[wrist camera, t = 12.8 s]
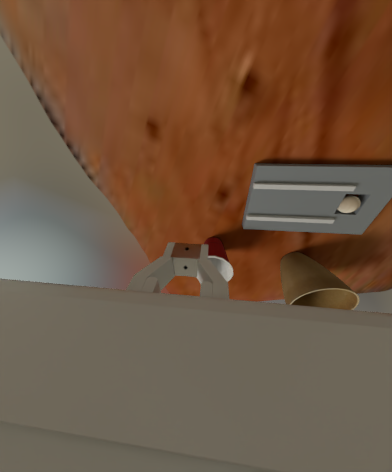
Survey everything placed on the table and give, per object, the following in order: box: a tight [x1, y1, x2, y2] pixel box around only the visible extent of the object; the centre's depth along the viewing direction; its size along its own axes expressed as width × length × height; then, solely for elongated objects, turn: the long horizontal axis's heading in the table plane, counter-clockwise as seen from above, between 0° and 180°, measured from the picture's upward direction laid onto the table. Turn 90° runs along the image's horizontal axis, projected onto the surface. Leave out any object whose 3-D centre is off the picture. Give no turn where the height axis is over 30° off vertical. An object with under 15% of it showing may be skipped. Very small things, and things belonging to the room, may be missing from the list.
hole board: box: [242, 164, 392, 235], centre depth 35 cm, size 16×30×4 cm, turn 90°
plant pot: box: [280, 252, 359, 310], centre depth 42 cm, size 15×15×16 cm
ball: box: [337, 196, 361, 213], centre depth 34 cm, size 4×4×4 cm
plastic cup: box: [196, 237, 233, 282], centre depth 43 cm, size 11×11×12 cm
